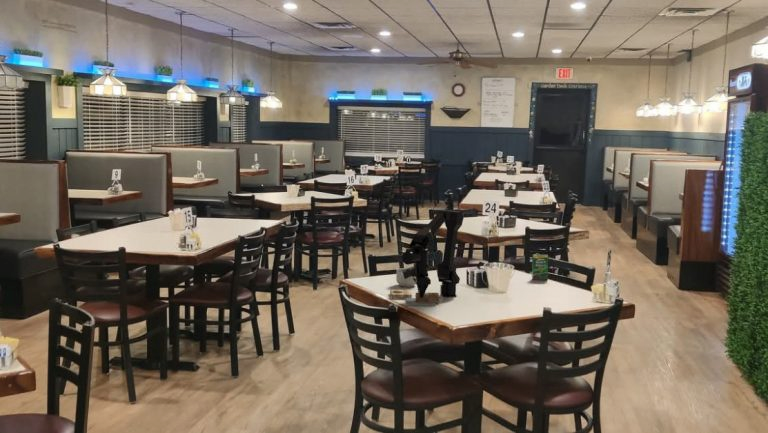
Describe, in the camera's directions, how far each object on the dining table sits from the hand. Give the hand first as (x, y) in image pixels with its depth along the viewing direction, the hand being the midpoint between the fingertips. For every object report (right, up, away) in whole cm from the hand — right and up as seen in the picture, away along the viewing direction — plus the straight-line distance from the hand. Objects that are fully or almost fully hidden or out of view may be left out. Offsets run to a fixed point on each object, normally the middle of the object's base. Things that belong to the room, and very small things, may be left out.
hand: (420, 296), depth 331 cm
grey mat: (0, -3, 0) cm, 3 cm away
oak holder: (-9, -1, +13) cm, 15 cm away
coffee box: (+65, +2, +57) cm, 86 cm away
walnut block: (+3, -1, 0) cm, 3 cm away
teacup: (-6, +1, +35) cm, 35 cm away
